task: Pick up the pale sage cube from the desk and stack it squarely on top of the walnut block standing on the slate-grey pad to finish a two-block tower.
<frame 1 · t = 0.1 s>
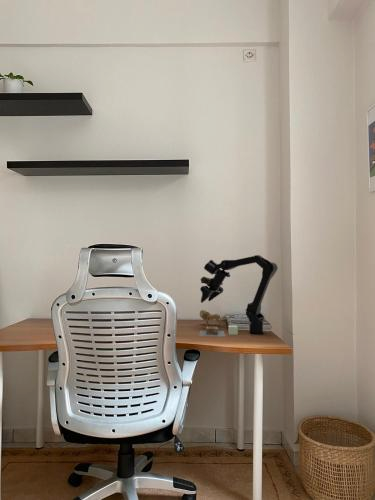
hand: (205, 301, 221), 15 cm above the table, tool tilted 35°, fingers open, 9 cm apart
slate pad: (212, 334, 201), on the table
sage cube: (232, 334, 201), on the table
walnut block: (212, 333, 201), resting on slate pad
lion figurine: (210, 325, 228), on the table
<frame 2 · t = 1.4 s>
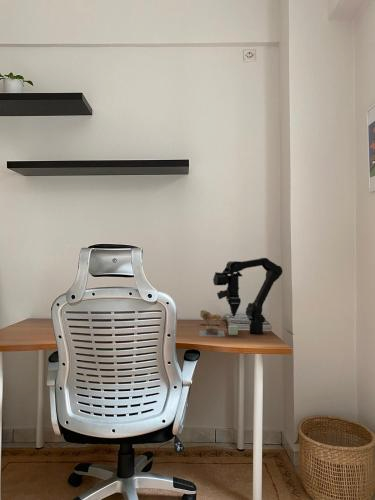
hand: (233, 314, 201), 10 cm above the table, tool pointing down, fingers open, 9 cm apart
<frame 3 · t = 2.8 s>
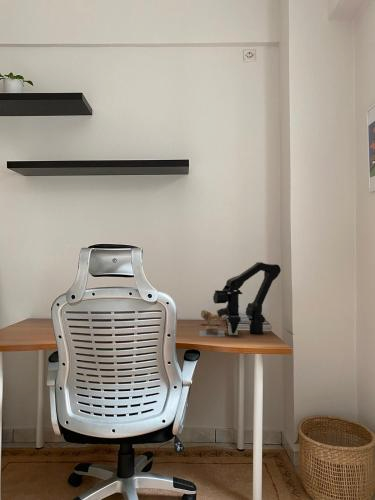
hand: (232, 332, 201), 1 cm above the table, tool pointing down, fingers closed on sage cube, 4 cm apart
sage cube: (232, 334, 201), on the table, touching gripper
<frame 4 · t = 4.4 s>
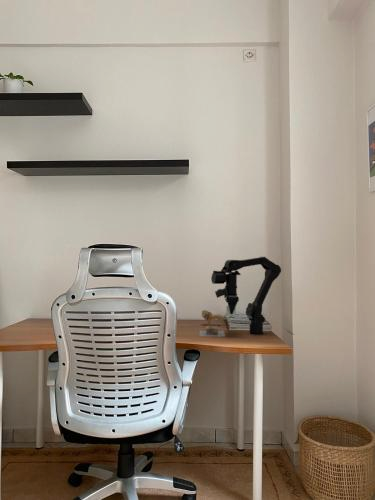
hand: (231, 313, 201), 11 cm above the table, tool pointing down, fingers closed on sage cube, 4 cm apart
sage cube: (230, 315, 201), point 10 cm above the table, touching gripper
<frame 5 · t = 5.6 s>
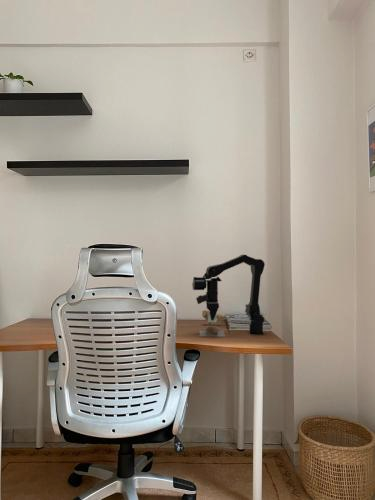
hand: (212, 319, 201), 8 cm above the table, tool pointing down, fingers closed on sage cube, 4 cm apart
sage cube: (212, 321, 201), point 7 cm above the table, touching gripper
when the fingers open (6 cm above the table, at t = 6.2 s): sage cube drops 1 cm, resting on walnut block.
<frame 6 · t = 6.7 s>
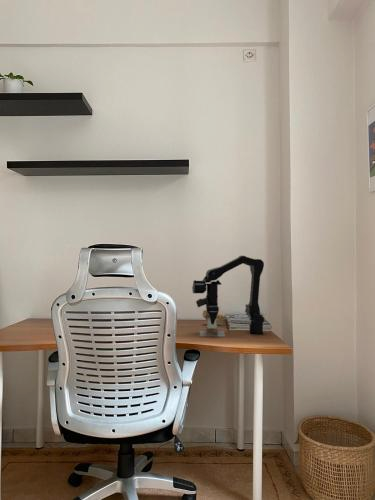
hand: (212, 322, 201), 6 cm above the table, tool pointing down, fingers open, 9 cm apart
sage cube: (212, 327, 201), point 3 cm above the table, touching walnut block
walnut block: (212, 333, 201), resting on slate pad, touching sage cube
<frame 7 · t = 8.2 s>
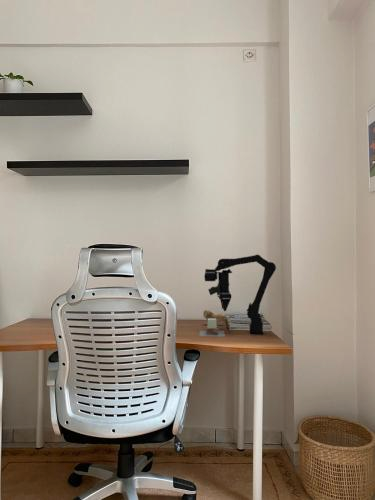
hand: (224, 309, 209), 12 cm above the table, tool pointing down, fingers open, 9 cm apart
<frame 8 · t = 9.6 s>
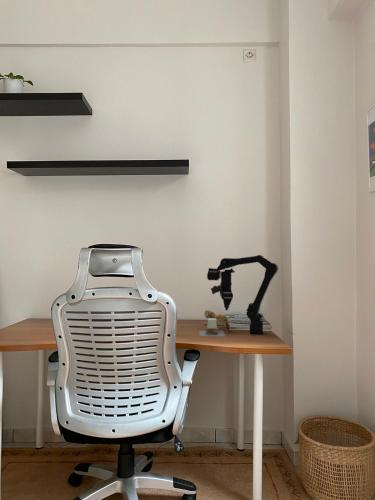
hand: (226, 309, 211), 12 cm above the table, tool pointing down, fingers open, 9 cm apart
at the end: sage cube 0.0 cm off-centre on the walnut block, point 3.0 cm above the walnut block's base; sage cube tilted 0°; the gripper is holding nothing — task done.
